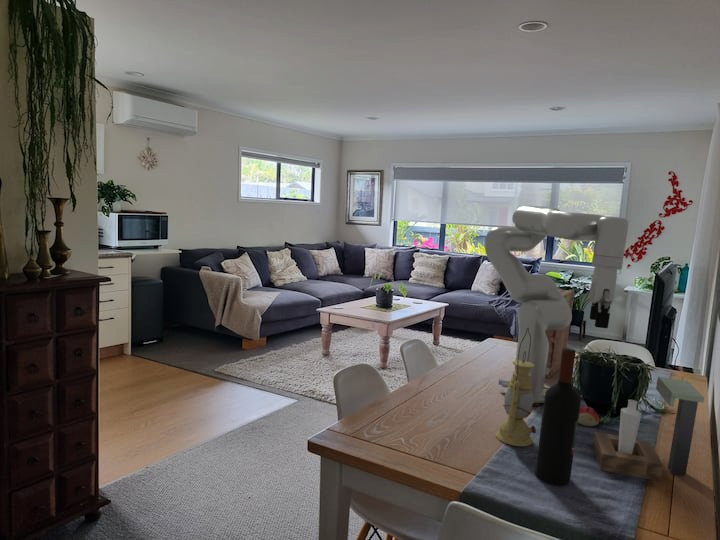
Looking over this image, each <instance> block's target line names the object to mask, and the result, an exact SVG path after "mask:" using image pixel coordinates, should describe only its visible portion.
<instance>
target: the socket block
mask: <svg viewBox="0 0 720 540" xmlns="http://www.w3.org/2000/svg"><path fill="white" fill-rule="evenodd" d="M618 444H619V435H615V434H609V433H604V432H598V431H593V438H592V446H591V447H592V450H593V453H594V452H595V453H594V455H596V456H595V458H596V461H597V464H598V467H599V469H600V471H605V472H611V473H615V474H621V475H626V476H630V477H631V476H632V477H635V478H636V477H637V478H641V479H647V480H651V481H658V482H662V475H663V469H664V464H663V463H664V462H662V460H661V459H660V457H659V455H658V453H657V452H656V450H655V449H654V446H653V445H652V443H651V442H650V440H645V439H640V438H639V439H638V438H636V440H635V444H634V449H633V453H632V454H626V453H621V452H618Z"/></svg>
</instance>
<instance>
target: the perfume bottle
mask: <svg viewBox="0 0 720 540" xmlns="http://www.w3.org/2000/svg"><path fill="white" fill-rule="evenodd" d="M627 401H628V402H627V407H622V408H620V418H619V430H618V431H619V433H618V436H619V444H618V452H621V453H626V454H632V453H633V449H634V444H635V440H636V439H637V435H638V431H639V427H640V422H641V418H642V415H643V414H642V412H640V411H639V410H638V409H637V406H638V401H637V400H634V399H627Z"/></svg>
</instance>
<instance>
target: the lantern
mask: <svg viewBox="0 0 720 540" xmlns="http://www.w3.org/2000/svg"><path fill="white" fill-rule="evenodd" d="M527 329H528V333H529V328H527ZM527 329H526V333H527ZM526 333H525V335H526ZM529 335H530V333H529ZM524 337H525V336H524ZM524 337H523V339H524ZM523 339H522V341H523ZM522 341H521V343H522ZM530 344H531V336H530ZM520 347H521V344H520ZM520 347H519V352H520ZM524 353H525V357H526V351H524ZM529 353H530V346H529ZM523 357H524V354H523ZM528 359H529V354H528ZM512 364H513V365H514V370H515V369H516V371H515V372H514V371H513V372H512V377H511V379H510V380H511V382H510V383H509V386H508V388H507V389H506V391H505V395H504V404H503V405H502V406H503V407H504V410H505V413H506V414H507V415H508V418H506V419H504V420H503V421H502V423H500V425H499V430H498V431H497V432H496V434H495V436H496V438H497V439H498V440H499V441H500V442H502V443H504V444H506V445H510V446H514V447H529V446H531V445H532V444H533V439H532V437H531V434H532V433H533V434H536V433H537V429H536V426H535V425H531V427H529V425H528V423H527V422H526V421H525V420H524V419H526V418H528V416H530V415H531V413H532V411H533V404H534V403H533V394H532V390H531V388H532V386H531V375H530V374H529V371H530V368H532V367H534V365H533V364H532V363H530V362H528V360H527V362H526V361H525V359H524V360H523V361H519V353H518V361H516V360H513V361H512Z"/></svg>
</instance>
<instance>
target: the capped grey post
mask: <svg viewBox="0 0 720 540" xmlns="http://www.w3.org/2000/svg"><path fill="white" fill-rule="evenodd" d="M655 386H656V387H655V389H656V391H657V392H658V393H659V394H660V396H661V397H662V398H663V400H664V401H665V402H666V403H667V405H668V406H669V407H674V406H675V401H676V399H677V400H678V403H677V411H676V416H675V422H674V428H673V434H672V439H671V440H672V441H671V447H670V453H669V458H668V465H667V469H668V471H669V473H670V474H671V475H675V476H680V477H681V476H682V477H686V475H687V469H688V464H689V458H690V452H691V447H692V446H691V445H692V441H693V434H694V428H695V422H696V415H697V410H698V405H699V403H704V402H705V397H704V396H703V394H701V393H700V392H699V390H697V389H696V387H694V386H693V385H692V384H691V382H689V381H688V380H685V379H677V378H670V377H662V376H657V380H656V385H655Z"/></svg>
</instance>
